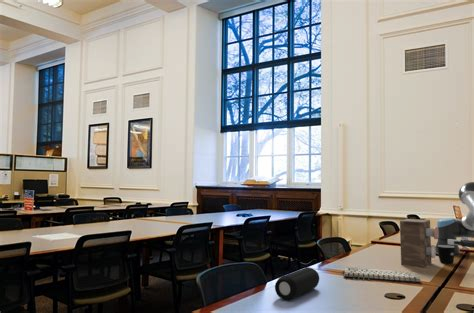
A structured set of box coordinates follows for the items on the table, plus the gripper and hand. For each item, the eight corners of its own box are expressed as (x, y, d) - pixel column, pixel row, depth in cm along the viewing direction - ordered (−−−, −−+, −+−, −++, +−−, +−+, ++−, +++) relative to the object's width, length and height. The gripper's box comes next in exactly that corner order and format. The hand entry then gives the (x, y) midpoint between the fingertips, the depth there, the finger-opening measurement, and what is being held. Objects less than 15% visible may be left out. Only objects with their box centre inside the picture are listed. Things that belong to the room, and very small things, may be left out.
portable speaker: (302, 286, 186) (302, 265, 186) (321, 289, 179) (321, 267, 180) (273, 299, 166) (273, 275, 166) (293, 303, 160) (293, 278, 160)
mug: (452, 265, 228) (451, 248, 229) (436, 263, 235) (435, 246, 235) (458, 262, 237) (458, 245, 237) (443, 260, 243) (442, 243, 244)
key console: (408, 260, 242) (407, 218, 244) (431, 263, 234) (430, 220, 236) (401, 265, 230) (399, 220, 231) (424, 268, 222) (423, 222, 223)
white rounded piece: (414, 254, 236) (414, 242, 237) (436, 257, 229) (435, 244, 229) (411, 256, 231) (410, 244, 231) (433, 258, 223) (432, 246, 224)
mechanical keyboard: (416, 276, 206) (416, 269, 206) (422, 285, 187) (422, 278, 188) (342, 272, 216) (342, 266, 216) (342, 280, 198) (342, 274, 198)
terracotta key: (417, 236, 236) (416, 224, 236) (438, 238, 228) (438, 226, 229) (413, 238, 230) (413, 225, 231) (436, 239, 223) (435, 227, 223)
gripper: (496, 255, 202) (445, 250, 217) (498, 251, 212) (450, 246, 227) (495, 240, 202) (445, 236, 217) (498, 237, 212) (449, 233, 227)
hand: (447, 241), depth 222 cm, fingers closed
